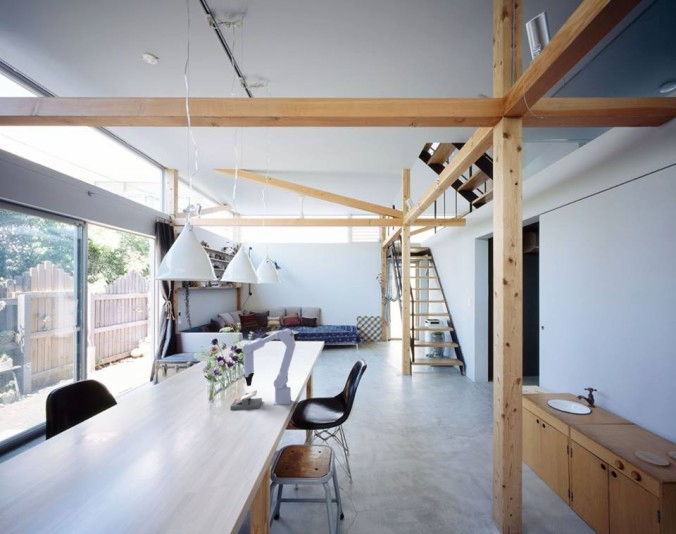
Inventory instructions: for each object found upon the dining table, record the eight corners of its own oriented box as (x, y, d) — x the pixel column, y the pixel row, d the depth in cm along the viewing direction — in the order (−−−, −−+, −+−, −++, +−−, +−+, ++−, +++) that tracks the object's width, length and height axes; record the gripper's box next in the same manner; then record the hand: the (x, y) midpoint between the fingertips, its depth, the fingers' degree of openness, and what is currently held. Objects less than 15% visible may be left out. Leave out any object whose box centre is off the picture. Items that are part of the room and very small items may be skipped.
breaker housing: (261, 401, 195) (261, 392, 195) (258, 408, 184) (258, 398, 184) (235, 402, 194) (235, 393, 194) (230, 409, 183) (230, 400, 183)
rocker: (257, 391, 193) (256, 389, 193) (255, 395, 187) (254, 393, 187) (238, 400, 192) (237, 398, 192) (236, 404, 186) (235, 402, 186)
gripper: (244, 360, 204) (245, 382, 203) (239, 366, 189) (239, 389, 189) (256, 360, 204) (256, 381, 204) (251, 366, 190) (251, 389, 189)
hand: (249, 385), depth 196 cm, fingers closed
